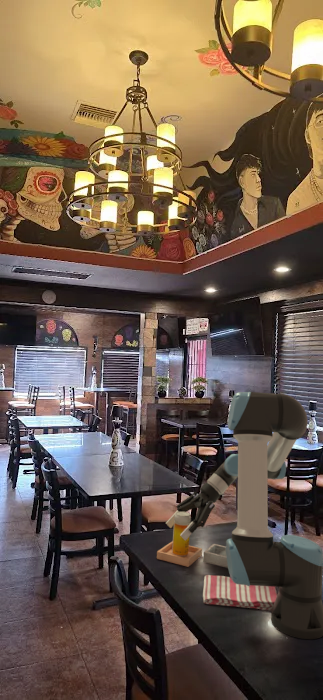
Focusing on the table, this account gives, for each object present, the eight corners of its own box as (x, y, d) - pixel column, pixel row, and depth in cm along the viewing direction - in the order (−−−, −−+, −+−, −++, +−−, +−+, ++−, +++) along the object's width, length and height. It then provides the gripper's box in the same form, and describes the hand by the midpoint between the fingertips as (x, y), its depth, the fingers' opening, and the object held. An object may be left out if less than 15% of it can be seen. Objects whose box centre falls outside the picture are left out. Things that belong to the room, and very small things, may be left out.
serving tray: (188, 566, 169) (188, 559, 169) (156, 558, 175) (157, 551, 175) (201, 555, 180) (202, 548, 180) (171, 547, 186) (172, 541, 186)
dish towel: (281, 613, 141) (282, 601, 141) (202, 605, 143) (203, 593, 143) (273, 587, 158) (274, 576, 158) (202, 580, 160) (203, 570, 160)
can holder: (229, 568, 170) (229, 558, 170) (203, 561, 174) (203, 552, 175) (238, 559, 179) (238, 549, 179) (213, 552, 183) (213, 543, 183)
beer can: (188, 558, 175) (191, 516, 175) (171, 557, 175) (174, 515, 175) (187, 552, 181) (190, 511, 181) (171, 550, 181) (174, 510, 181)
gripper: (235, 504, 173) (195, 550, 167) (204, 487, 196) (168, 527, 190) (223, 490, 171) (182, 536, 165) (193, 474, 194) (156, 514, 188)
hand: (175, 531), depth 177 cm, fingers open, 13 cm apart
